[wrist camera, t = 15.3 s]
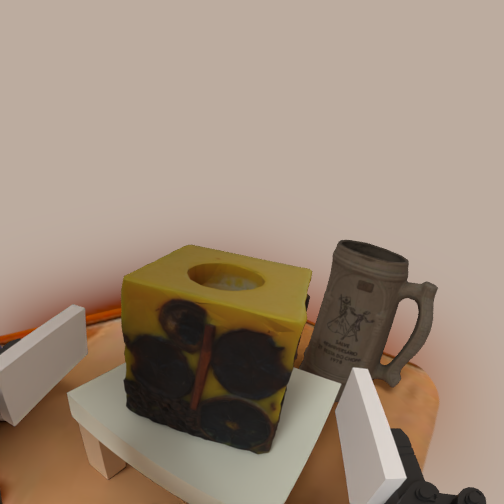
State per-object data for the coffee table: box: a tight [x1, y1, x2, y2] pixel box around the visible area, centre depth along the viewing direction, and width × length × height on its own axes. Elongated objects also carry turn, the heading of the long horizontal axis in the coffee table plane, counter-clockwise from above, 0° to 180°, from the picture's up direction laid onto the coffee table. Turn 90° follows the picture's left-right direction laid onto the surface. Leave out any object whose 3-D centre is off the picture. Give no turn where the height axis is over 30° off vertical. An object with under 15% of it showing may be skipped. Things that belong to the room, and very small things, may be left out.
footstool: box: [67, 362, 341, 504], centre depth 23 cm, size 16×16×9 cm
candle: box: [121, 245, 312, 455], centre depth 21 cm, size 10×10×10 cm
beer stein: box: [299, 240, 438, 402], centre depth 38 cm, size 15×10×20 cm
